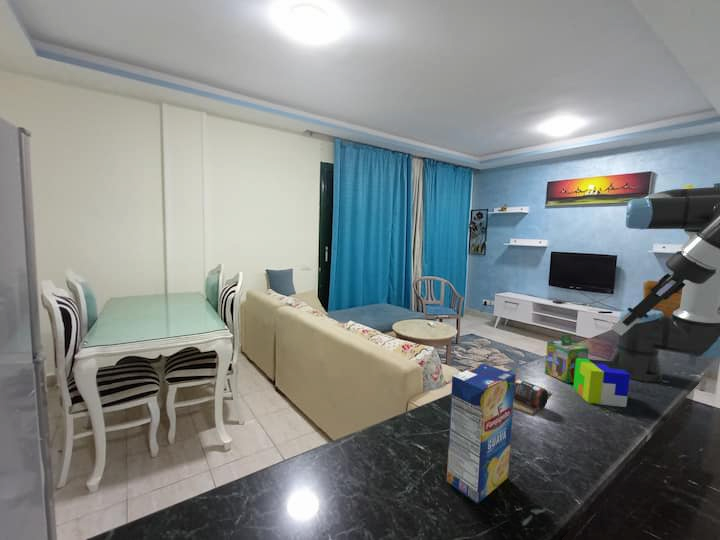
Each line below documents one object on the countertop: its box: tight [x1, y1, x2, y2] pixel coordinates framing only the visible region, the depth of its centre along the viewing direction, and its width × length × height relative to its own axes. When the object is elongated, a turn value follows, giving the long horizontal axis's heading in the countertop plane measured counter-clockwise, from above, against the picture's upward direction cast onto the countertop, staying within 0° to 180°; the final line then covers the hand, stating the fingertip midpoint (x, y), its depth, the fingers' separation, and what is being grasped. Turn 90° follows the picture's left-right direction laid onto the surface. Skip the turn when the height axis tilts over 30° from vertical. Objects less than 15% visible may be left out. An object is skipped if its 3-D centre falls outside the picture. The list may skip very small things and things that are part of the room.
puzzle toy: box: [572, 358, 630, 408], centre depth 101 cm, size 10×10×10 cm
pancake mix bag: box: [642, 280, 683, 317], centre depth 159 cm, size 7×19×28 cm, turn 31°
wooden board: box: [513, 389, 552, 416], centre depth 101 cm, size 18×12×1 cm, turn 136°
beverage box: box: [446, 363, 516, 505], centre depth 65 cm, size 7×11×22 cm, turn 128°
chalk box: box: [544, 333, 589, 384], centre depth 115 cm, size 9×9×15 cm
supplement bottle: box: [514, 377, 549, 411], centre depth 96 cm, size 6×6×11 cm
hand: (616, 331), depth 84 cm, fingers closed
